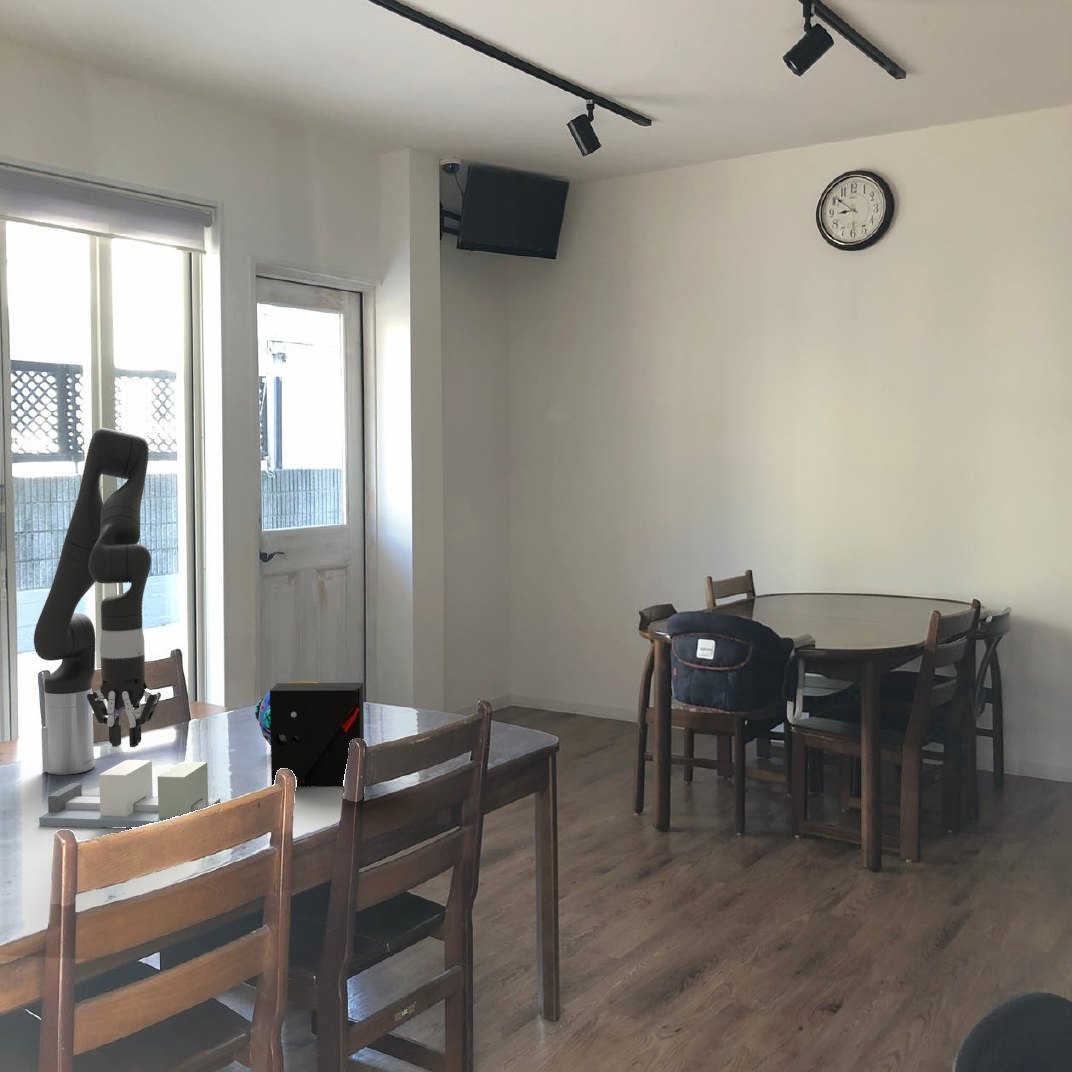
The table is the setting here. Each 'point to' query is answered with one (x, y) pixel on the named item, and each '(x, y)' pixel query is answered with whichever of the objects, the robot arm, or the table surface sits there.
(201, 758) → the table surface
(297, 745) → the electrical component
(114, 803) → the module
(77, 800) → the mounting plate
